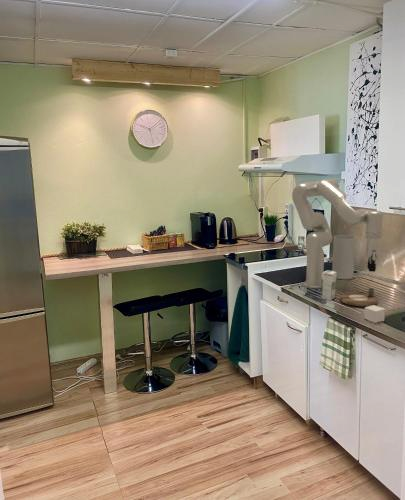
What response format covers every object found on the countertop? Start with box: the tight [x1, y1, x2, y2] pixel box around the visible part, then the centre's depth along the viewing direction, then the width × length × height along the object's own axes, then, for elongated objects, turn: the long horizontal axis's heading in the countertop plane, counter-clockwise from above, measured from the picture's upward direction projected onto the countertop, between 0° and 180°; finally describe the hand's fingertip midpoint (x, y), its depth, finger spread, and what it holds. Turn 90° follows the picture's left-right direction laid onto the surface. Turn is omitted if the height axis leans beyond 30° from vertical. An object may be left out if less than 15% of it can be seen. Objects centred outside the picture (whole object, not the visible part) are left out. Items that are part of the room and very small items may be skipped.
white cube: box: [363, 304, 386, 322], centre depth 188 cm, size 6×6×6 cm
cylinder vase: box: [331, 235, 356, 281], centre depth 254 cm, size 12×12×25 cm
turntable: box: [339, 287, 378, 307], centre depth 211 cm, size 18×18×6 cm
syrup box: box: [320, 270, 337, 301], centre depth 217 cm, size 6×6×14 cm
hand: (371, 269), depth 215 cm, fingers open, 4 cm apart
